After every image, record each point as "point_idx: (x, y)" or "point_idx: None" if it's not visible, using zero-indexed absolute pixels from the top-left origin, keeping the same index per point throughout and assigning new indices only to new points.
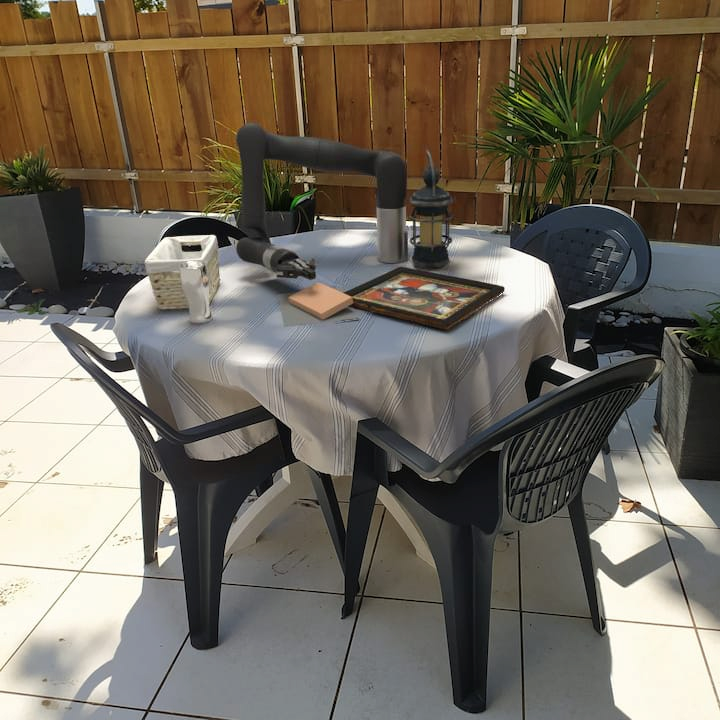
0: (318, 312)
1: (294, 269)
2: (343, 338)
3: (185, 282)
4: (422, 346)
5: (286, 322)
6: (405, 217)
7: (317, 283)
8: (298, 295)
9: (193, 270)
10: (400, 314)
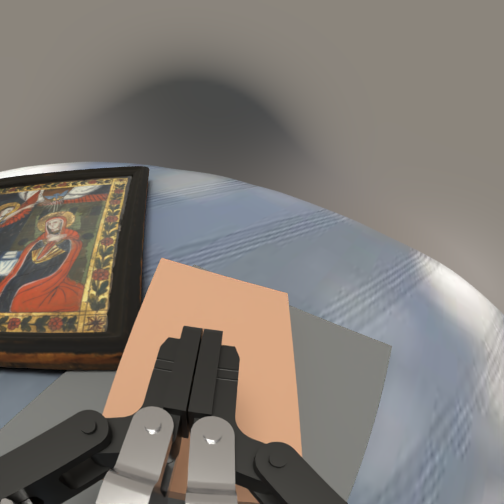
0: (288, 304)
1: (283, 453)
2: (288, 245)
3: None
4: (209, 183)
5: (379, 363)
6: None
7: None
8: None
9: None
10: (145, 207)
